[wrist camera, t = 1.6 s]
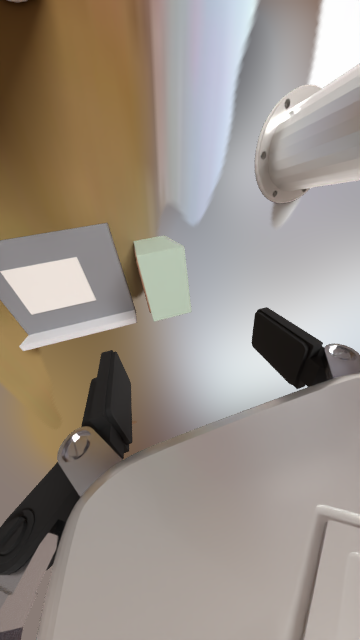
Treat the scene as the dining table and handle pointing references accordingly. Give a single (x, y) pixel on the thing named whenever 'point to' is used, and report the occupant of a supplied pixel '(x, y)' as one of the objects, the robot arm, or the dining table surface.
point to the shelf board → (64, 284)
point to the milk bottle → (17, 0)
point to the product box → (163, 276)
